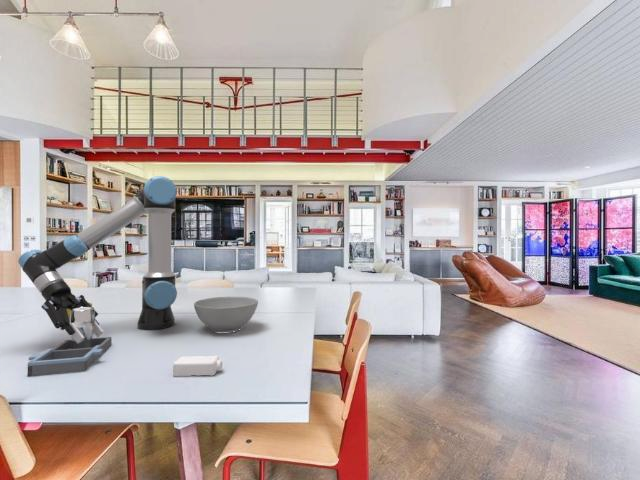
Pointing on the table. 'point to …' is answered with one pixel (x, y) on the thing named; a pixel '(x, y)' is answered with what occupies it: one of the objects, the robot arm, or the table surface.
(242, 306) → the decorative bowl
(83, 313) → the drinking glass
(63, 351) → the open frame
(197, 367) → the white bottle
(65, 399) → the table surface
